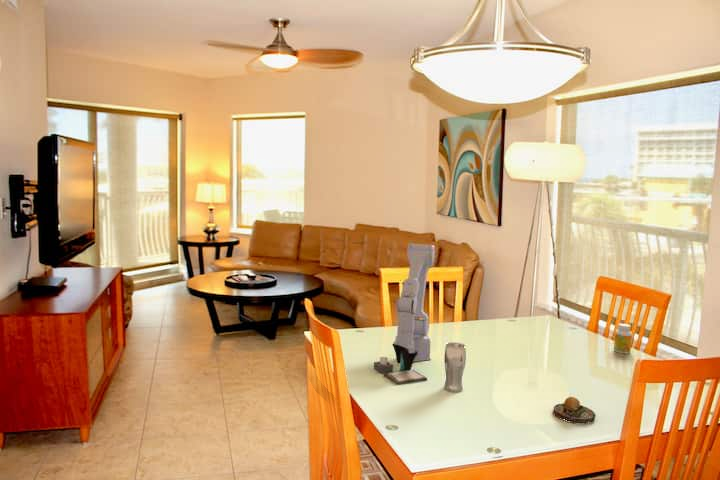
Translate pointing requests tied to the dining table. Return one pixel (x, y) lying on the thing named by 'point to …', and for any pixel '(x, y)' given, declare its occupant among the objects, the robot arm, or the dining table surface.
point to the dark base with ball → (574, 411)
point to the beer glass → (454, 366)
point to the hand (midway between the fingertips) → (403, 366)
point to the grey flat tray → (405, 377)
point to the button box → (383, 367)
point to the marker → (402, 364)
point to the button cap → (383, 361)
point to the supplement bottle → (623, 339)
